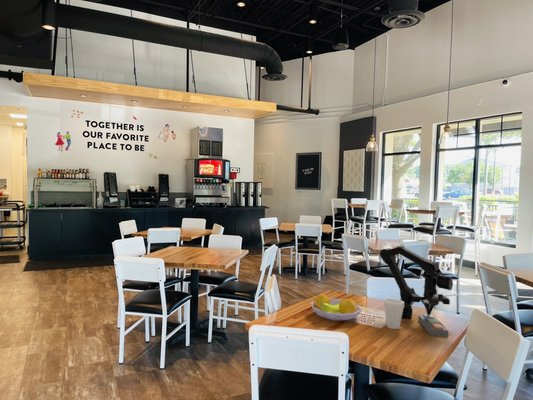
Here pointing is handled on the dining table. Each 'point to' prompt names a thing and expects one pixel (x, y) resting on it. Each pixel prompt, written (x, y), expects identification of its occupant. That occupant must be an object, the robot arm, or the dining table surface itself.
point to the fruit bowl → (335, 308)
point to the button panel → (430, 329)
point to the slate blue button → (428, 316)
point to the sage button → (432, 321)
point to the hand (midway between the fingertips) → (428, 315)
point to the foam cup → (393, 312)
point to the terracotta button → (437, 326)
